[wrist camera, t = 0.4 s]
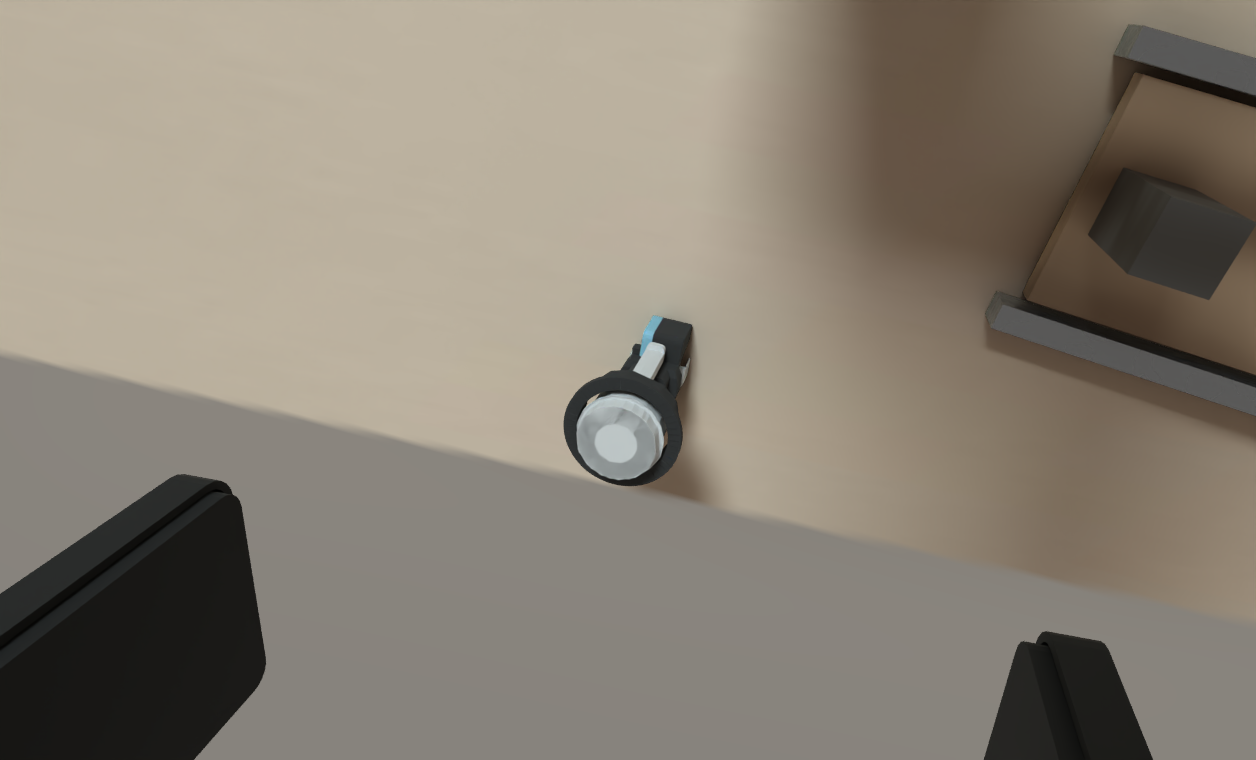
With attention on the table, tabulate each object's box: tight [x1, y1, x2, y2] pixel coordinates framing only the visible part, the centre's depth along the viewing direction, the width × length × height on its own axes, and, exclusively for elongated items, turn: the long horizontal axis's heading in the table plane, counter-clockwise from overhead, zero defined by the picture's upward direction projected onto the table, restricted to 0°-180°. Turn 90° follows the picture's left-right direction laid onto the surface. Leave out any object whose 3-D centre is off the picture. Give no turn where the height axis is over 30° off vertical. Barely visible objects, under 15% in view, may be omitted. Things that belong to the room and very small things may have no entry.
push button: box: [564, 315, 692, 486], centre depth 41 cm, size 7×5×10 cm
